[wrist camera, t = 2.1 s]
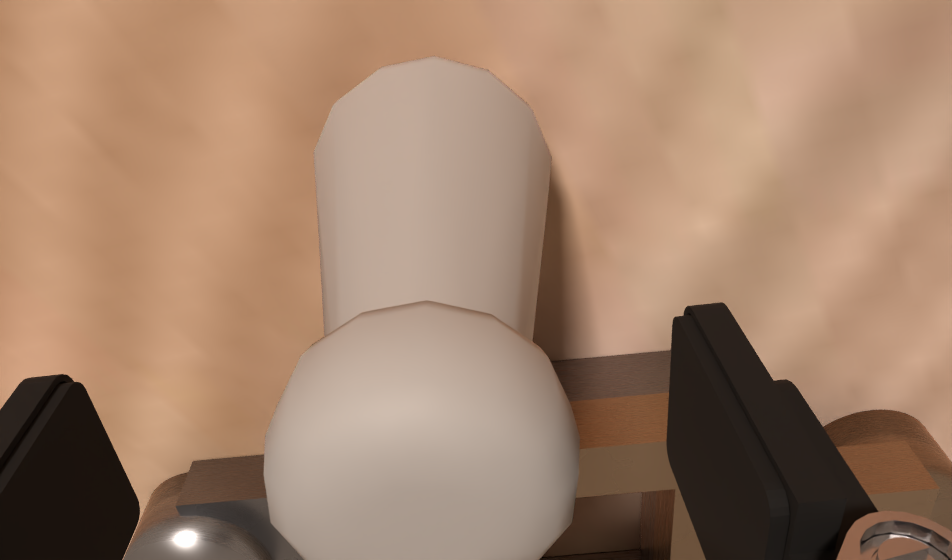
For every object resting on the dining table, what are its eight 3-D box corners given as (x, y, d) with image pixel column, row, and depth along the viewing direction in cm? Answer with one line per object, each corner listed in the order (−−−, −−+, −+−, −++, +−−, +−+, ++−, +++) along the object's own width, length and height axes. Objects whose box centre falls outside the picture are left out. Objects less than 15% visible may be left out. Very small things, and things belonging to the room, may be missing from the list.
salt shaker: (417, 268, 22) (387, 710, 11) (282, 123, 20) (75, 513, 9) (581, 159, 21) (733, 556, 10) (456, -16, 18) (469, 254, 7)
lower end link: (708, 346, 24) (738, 409, 22) (686, 576, 31) (708, 645, 28) (92, 404, 25) (51, 471, 22) (197, 618, 31) (175, 689, 29)
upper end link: (971, 322, 24) (1056, 406, 21) (894, 559, 31) (949, 652, 27) (344, 380, 25) (328, 471, 21) (398, 601, 31) (392, 698, 28)
